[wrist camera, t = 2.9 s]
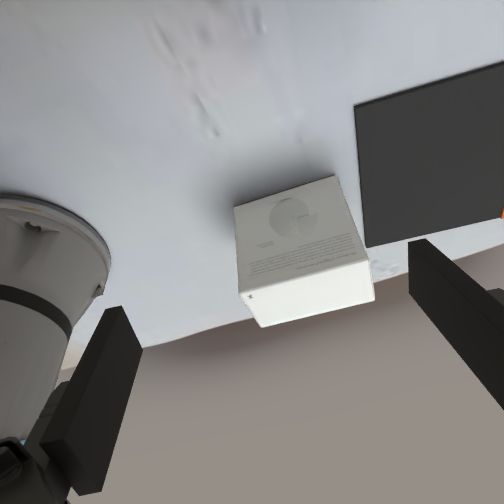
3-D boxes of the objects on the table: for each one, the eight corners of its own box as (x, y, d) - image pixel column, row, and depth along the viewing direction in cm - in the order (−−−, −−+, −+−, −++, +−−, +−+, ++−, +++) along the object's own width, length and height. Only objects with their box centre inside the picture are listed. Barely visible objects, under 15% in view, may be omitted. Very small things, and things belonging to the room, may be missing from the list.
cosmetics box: (253, 247, 40) (260, 331, 33) (232, 206, 35) (235, 292, 28) (347, 221, 38) (377, 304, 31) (337, 173, 33) (369, 257, 26)
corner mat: (365, 245, 41) (367, 249, 40) (353, 106, 29) (355, 109, 28) (581, 195, 37) (585, 199, 37) (673, 11, 25) (680, 14, 25)
